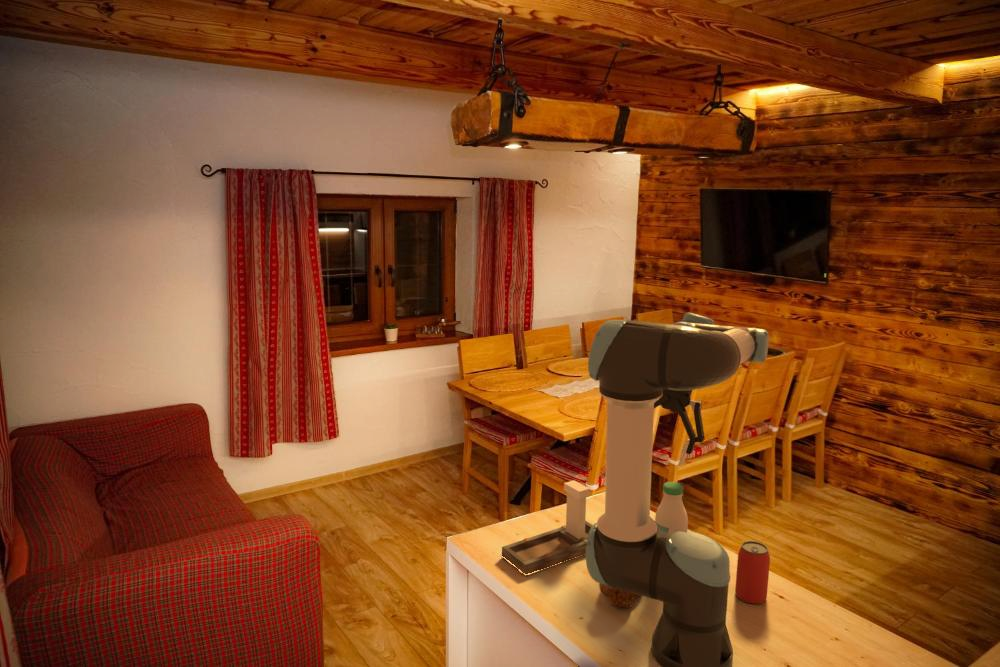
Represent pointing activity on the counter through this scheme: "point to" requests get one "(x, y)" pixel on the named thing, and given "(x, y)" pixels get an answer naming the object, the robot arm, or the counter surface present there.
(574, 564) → the counter surface
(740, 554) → the beer can
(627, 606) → the stuffed squirrel
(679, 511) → the milk bottle
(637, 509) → the robot arm
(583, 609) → the counter surface
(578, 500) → the fader knob
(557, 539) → the fader rail
